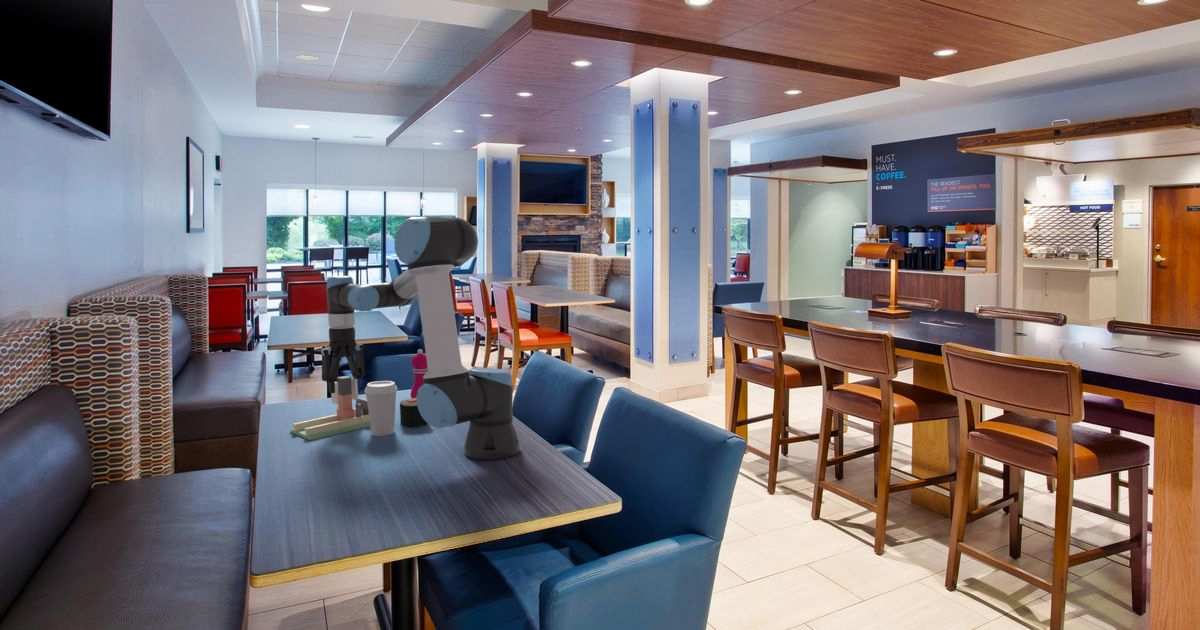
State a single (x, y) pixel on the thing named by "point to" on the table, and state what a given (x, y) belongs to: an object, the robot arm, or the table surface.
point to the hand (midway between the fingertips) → (345, 400)
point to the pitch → (333, 423)
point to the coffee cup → (381, 406)
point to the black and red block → (344, 398)
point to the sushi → (410, 414)
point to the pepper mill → (418, 371)
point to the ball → (355, 412)
